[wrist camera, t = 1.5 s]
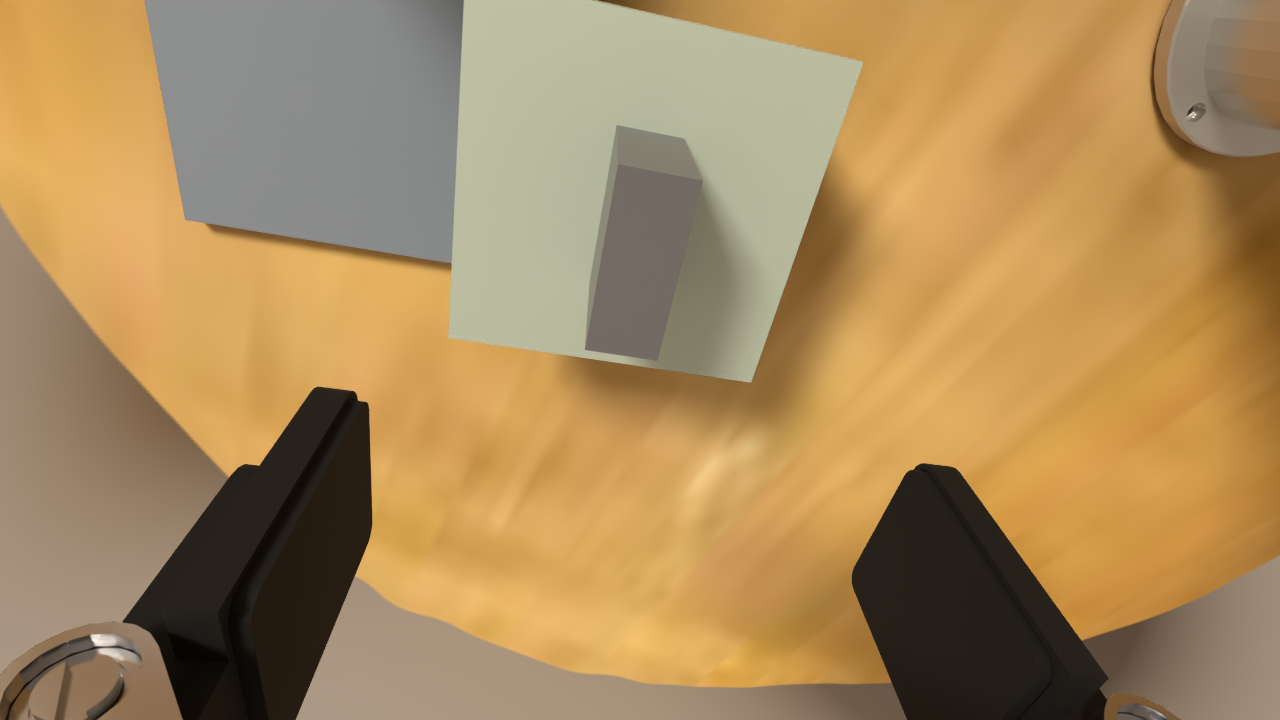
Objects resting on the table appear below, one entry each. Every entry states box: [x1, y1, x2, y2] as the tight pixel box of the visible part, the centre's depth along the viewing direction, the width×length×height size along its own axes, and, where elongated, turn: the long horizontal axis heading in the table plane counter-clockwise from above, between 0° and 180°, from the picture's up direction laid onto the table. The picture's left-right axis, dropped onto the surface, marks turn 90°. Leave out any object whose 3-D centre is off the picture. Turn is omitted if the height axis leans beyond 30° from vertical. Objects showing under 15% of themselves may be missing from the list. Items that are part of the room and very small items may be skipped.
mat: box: [145, 0, 464, 263], centre depth 29 cm, size 14×14×1 cm
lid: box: [448, 0, 864, 383], centre depth 22 cm, size 13×13×7 cm
